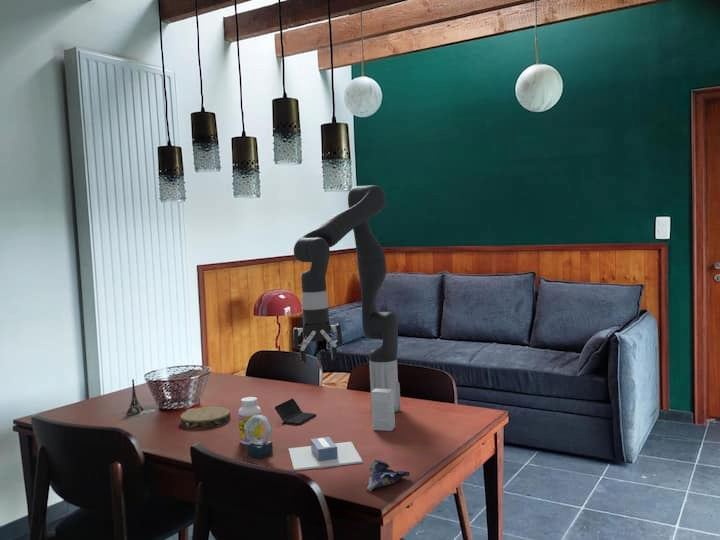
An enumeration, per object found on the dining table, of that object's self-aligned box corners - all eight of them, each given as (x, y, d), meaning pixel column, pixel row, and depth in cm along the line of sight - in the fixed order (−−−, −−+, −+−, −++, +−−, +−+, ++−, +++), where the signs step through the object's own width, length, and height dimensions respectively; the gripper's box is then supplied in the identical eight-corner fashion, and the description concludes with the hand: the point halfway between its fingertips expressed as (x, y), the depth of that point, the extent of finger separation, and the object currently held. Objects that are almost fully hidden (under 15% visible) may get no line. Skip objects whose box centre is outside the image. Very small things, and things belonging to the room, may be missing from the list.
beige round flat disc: (237, 423, 209) (236, 414, 209) (188, 433, 201) (188, 423, 201) (221, 412, 223) (221, 403, 222) (175, 420, 215) (175, 412, 214)
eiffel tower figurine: (121, 422, 217) (119, 383, 216) (108, 416, 224) (105, 379, 223) (162, 411, 228) (159, 374, 227) (148, 406, 235) (145, 371, 234)
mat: (351, 443, 184) (351, 441, 184) (362, 462, 168) (362, 461, 168) (288, 450, 180) (288, 448, 180) (294, 470, 165) (293, 468, 164)
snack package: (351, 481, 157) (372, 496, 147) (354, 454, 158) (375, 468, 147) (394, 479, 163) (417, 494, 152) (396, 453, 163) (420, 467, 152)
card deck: (337, 458, 171) (337, 446, 170) (318, 461, 169) (318, 449, 169) (329, 447, 179) (328, 436, 179) (311, 450, 178) (310, 438, 177)
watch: (255, 449, 182) (253, 411, 181) (277, 453, 178) (275, 414, 177) (242, 455, 177) (239, 416, 177) (264, 460, 173) (262, 420, 172)
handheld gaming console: (305, 421, 202) (287, 395, 205) (288, 434, 204) (271, 408, 206) (318, 415, 213) (301, 391, 215) (302, 428, 214) (286, 403, 217)
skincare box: (395, 427, 197) (393, 388, 196) (391, 431, 193) (389, 392, 192) (376, 426, 199) (374, 387, 198) (372, 430, 195) (370, 391, 194)
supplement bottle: (235, 442, 189) (232, 399, 188) (252, 436, 194) (250, 394, 193) (250, 447, 184) (247, 403, 184) (267, 440, 189) (265, 397, 189)
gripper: (292, 310, 181) (296, 366, 182) (341, 305, 184) (345, 361, 185) (289, 306, 188) (293, 361, 190) (337, 302, 191) (340, 355, 193)
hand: (319, 361), depth 188 cm, fingers open, 8 cm apart
